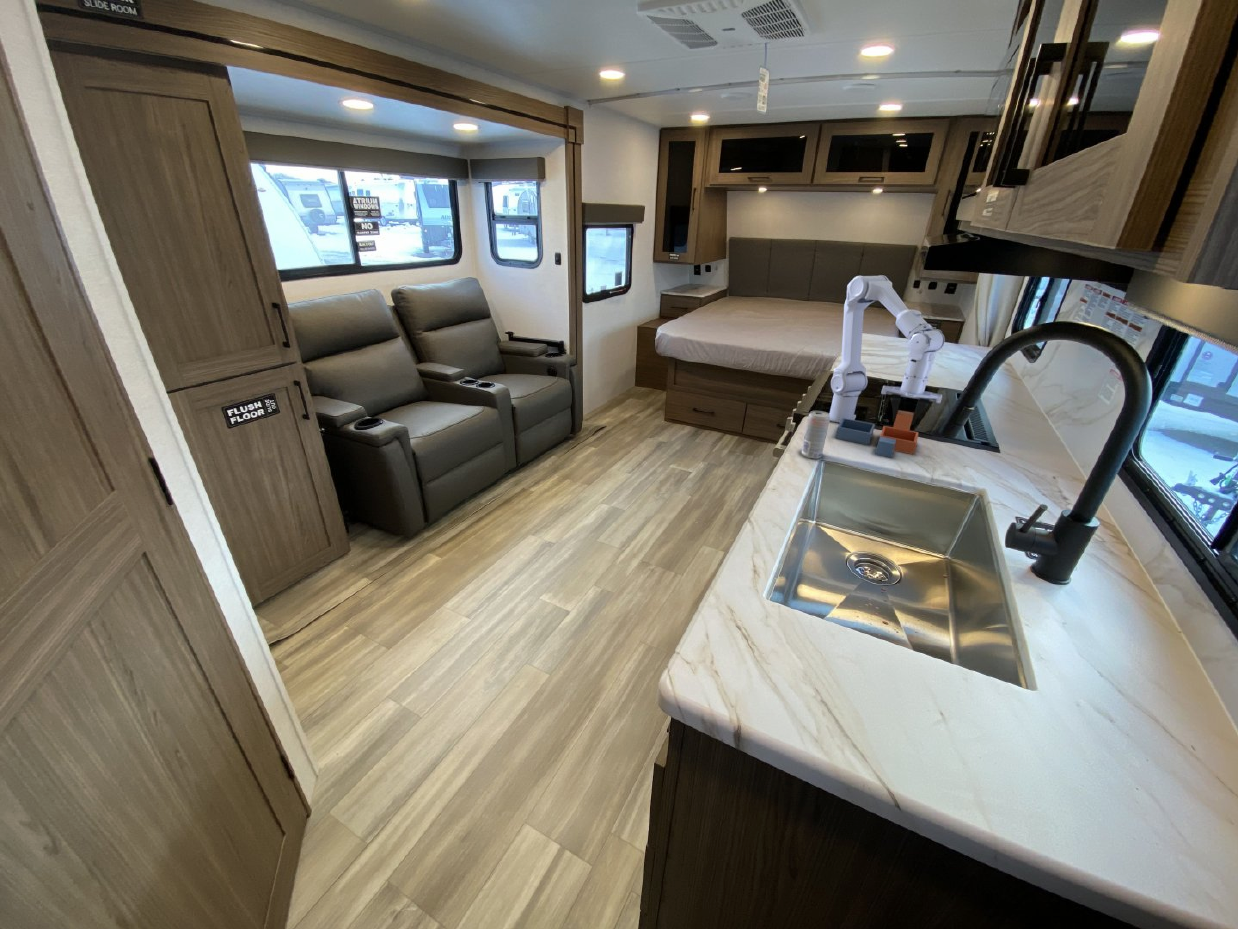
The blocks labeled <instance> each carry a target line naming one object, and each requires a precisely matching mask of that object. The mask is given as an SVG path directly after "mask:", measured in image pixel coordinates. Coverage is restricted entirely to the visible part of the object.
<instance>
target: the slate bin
mask: <svg viewBox="0 0 1238 929" xmlns="http://www.w3.org/2000/svg"><path fill="white" fill-rule="evenodd" d="M875 426H876V423H871V422H866V421H861V420H856V419H854V420H851V419H845V418H843V419H842V420H841V422H840V423H839V424H838V426H837V428H836V433H835V437H834V439H837V440H844V441H846V442H853V443H858V444H862V445H868V446H869V445H870V442H871V440H872V438H873V434H874V431H875Z"/></svg>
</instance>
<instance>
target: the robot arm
mask: <svg viewBox="0 0 1238 929" xmlns="http://www.w3.org/2000/svg"><path fill="white" fill-rule="evenodd" d="M876 301H877V302H880V303H881V305H883V306H884V307H885V308H886V309H887V310H888V312H890V313H891V314H892V315H893V316H894V318H896V319H895V326H896V327H897V329H898V330H899V331H900V332H901V333H902V334H903V336H904V337H905V339H907V340H908V341H907V343H908V344H907V347H908V350H909V353H908V362H907V364H906V369H905V372H904V375H903V378H902V382H901V386H891V385H890V386H889V385H883V386H882V389H881V393H880V394H881V395H891V396H890V402H891V406H892V407H891V408H892V422H894V423H895V420H896V416H897V413H898V410H899V407H900V403H901V400H902V397H903V398H909V399H914V400H917V404H916V407H915V410H914V412H913V413H914V415H913V419H912V422H911V426H914V425H915V422H916V421H917V419H918V417H919V416H920V415H921V413H922V412H923V411H924V410H925V409H926V408H927V407H928V406H929V403H930V402H933V403H935V404H941V402H942V399H943V394H941V393H940V394H939V393H935V392H931V391H926V386H927V384H928V380H929V377H930V374H931V371H932V368H933V364H934V361H935V357H936V354H937V352H938V351H940V350H941V349H942V348H943V347H944V345H945V341H946V338H945V335H944V334H943V331H942V330H941V329H937V328H933V326H932V325H931V324H930V323H928V322H927V321H926V320H925V319H924V318H923V317H922V312H921V311H920V310H916V309H909V308H908V307H907V305H906V304H905V303H904V301H903V300H902V299H901V297H900V296H899V295H898V294H897V291H896V290H895V289H894V287H893V282H892V281H891V280H889V278H888V277H887V276H886V275H882V274H881V275H880V274H879V275H857V276H854V277H853V278H852V280H850V282H848V284H847V286H846V299H845V302H844V304H843V323H842V340H841V341H842V342H841V357H840V363H839V364H838V365H837V366H836V367H835V368H834V369H833V374H832V377H831V380H830V388H831V391H832V393H833V397H832V401H831V406H830V409H829V412H828V414H830V421H829V422H833V423H837V424H838V423H839V424H840V422H841V420H842V419H843V418H845V419H851V420H856V418H857V414H855V411H856V407H857V404H858V400H859V395H861V393H862V391H864V390H866V388H867V386H868V377H867V368H866V366H865V365H863V363H862V362H861V360H862V347H863V345H862V344H863V329H864V314H865V310H866V309H867V308H868V307H869V306H870V305H871V304H872V303H875V302H876Z"/></svg>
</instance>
